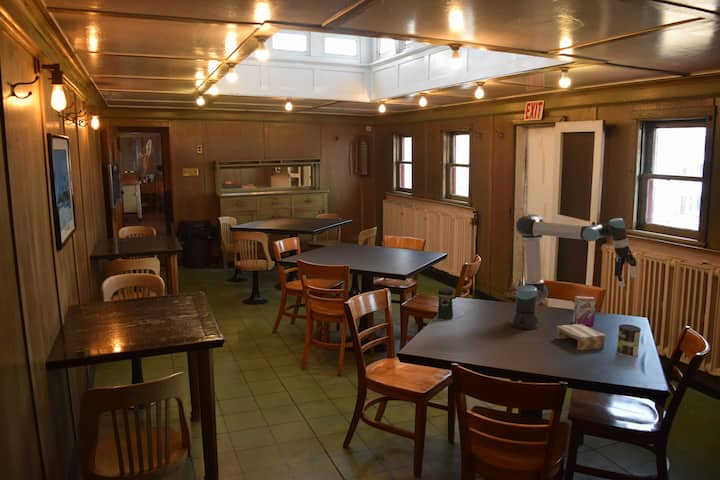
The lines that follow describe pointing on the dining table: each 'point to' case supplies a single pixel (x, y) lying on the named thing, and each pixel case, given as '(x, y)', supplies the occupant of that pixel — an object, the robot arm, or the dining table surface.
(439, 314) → the coffee jar
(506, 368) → the dining table surface
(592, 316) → the candy bar box
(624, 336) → the coffee can
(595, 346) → the birch shelf
